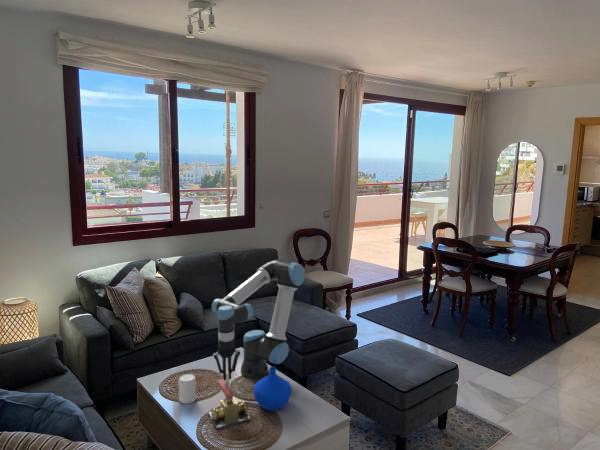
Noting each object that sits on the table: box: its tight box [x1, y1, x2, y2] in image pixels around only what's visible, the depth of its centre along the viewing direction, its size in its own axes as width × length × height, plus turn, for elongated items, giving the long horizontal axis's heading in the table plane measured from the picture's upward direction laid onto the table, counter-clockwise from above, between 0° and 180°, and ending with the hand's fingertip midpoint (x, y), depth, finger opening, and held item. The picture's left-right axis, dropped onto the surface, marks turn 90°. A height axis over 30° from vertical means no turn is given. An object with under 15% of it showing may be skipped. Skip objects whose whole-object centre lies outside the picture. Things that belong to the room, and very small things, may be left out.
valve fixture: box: [208, 396, 252, 431], centre depth 205 cm, size 16×13×10 cm
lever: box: [217, 378, 234, 399], centre depth 209 cm, size 15×4×2 cm, turn 27°
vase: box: [253, 366, 292, 411], centre depth 215 cm, size 18×18×19 cm
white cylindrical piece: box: [178, 373, 197, 405], centre depth 219 cm, size 8×8×12 cm
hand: (227, 385), depth 213 cm, fingers closed
